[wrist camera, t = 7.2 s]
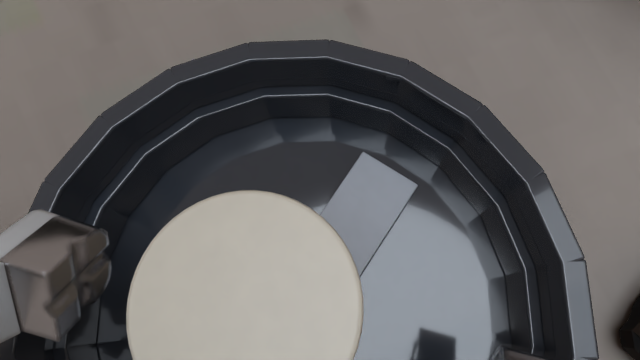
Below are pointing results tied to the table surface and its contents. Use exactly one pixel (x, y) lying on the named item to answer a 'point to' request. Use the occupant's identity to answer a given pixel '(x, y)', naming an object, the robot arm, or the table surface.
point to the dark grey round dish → (320, 185)
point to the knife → (632, 332)
